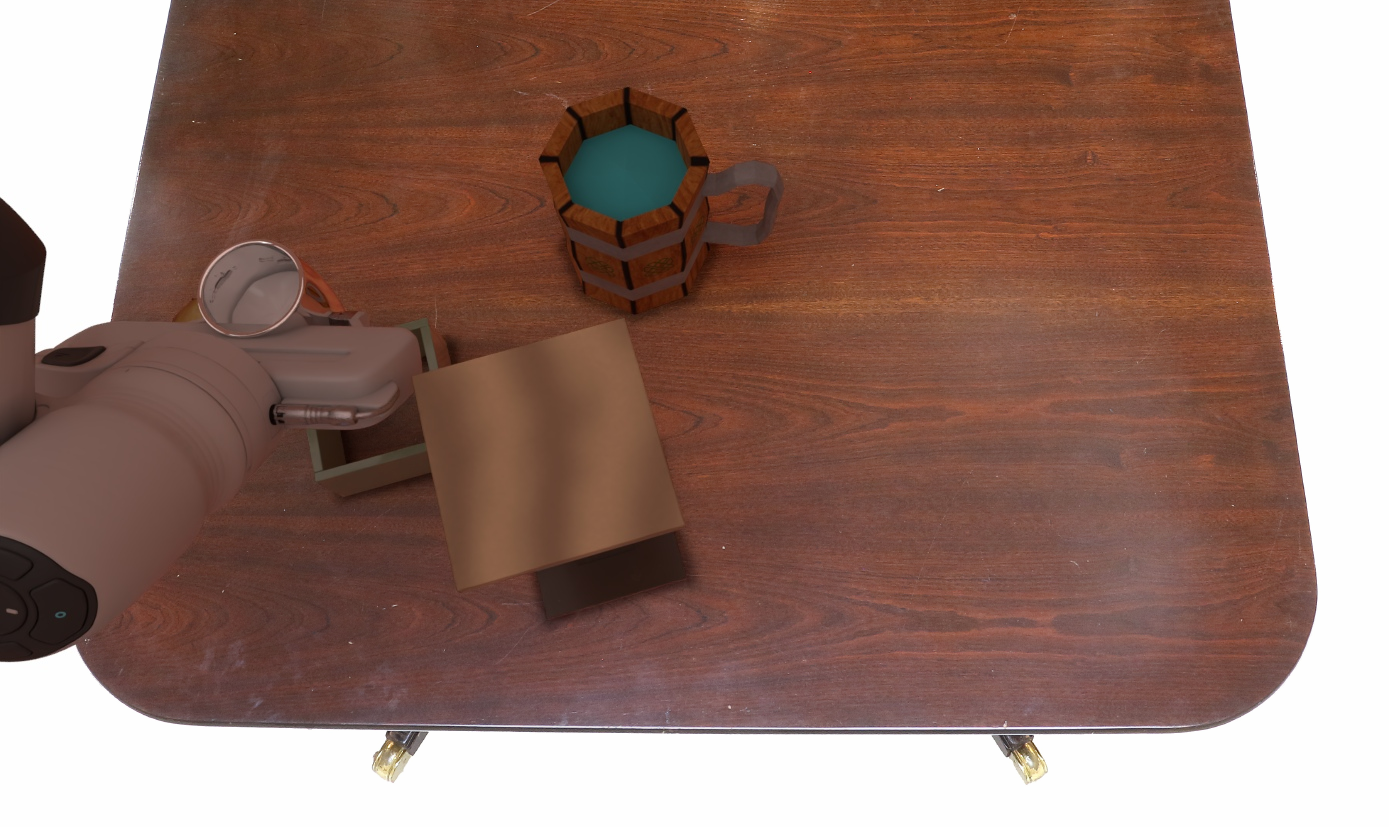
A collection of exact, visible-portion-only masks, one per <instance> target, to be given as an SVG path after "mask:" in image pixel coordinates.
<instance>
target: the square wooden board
mask: <svg viewBox="0 0 1389 827" xmlns="http://www.w3.org/2000/svg"><path fill="white" fill-rule="evenodd" d="M411 379H412V384H413V388H414V393H413V394H414V398H415V402H416V407H417V411H418V416H419V421H420V426H421V430H422V435H423V439H424V442H425V445H426V450H427V454H428V459H429V464H430V468H431V473H430V474H431V477H432V482H433V487H434V490H435V496H436V501H437V505H438V511H439V514H440V519H441V524H442V529H443V534H444V538H445V543H446V548H447V553H448V558H449V562H450V566H451V572H452V576H453V581H454V586H455V590H456V592H458V593H460V594H465V593H467V592H470V591H474V590H478V589H481V588H484V587H487V586H488V587H489V586H491V585H495V584H498V583H501V582H506V581H509V580H512V579H515V578H519V577H522V576H526V575H529V574H533V573H536V571H540V570H543V569H547V568H550V567H553V566H557V565H560V564H564V563H567V562H571V561H574V560H577V559H581V558H584V557H588V556H591V555H595V554H598V553H601V552H605V551H608V550H612V549H615V548H619V547H622V546H625V545H629V544H632V543H636V542H639V541H643V540H646V539H649V538H653V537H656V536H660V535H663V534H667V533H670V532H674V533H675V532H677V531H680V530H684V529H686V523H685V519H684V516H683V512H682V509H681V506H680V502H679V499H678V495H677V491H676V489H675V485H674V481H673V478H672V474H671V470H670V467H669V464H668V462H667V461H668V460H667V457H666V454H665V451H664V450H665V449H664V447H663V444H662V439H661V437H660V433H659V429H658V426H657V422H656V419H655V416H654V412H653V409H652V406H651V401H650V399H649V395H648V392H647V388H646V384H645V381H644V378H643V374H642V371H641V367H640V364H639V361H638V356H637V354H636V350H635V347H634V344H633V340H632V337H631V333H630V329H629V326H628V323H627V319H626V317H621V318H617V319H614V320H611V321H607V322H602V323H599V324H596V325H592V326H588V327H584V328H580V329H578V330H577V329H576V330H574V331H571V332H566V333H562V334H559V335H555V336H552V337H548V338H545V339H541V340H537V341H533V342H530V343H527V344H522V345H519V346H516V347H513V348H508V349H505V350H501V351H497V352H494V353H491V354H487V355H482V356H479V357H476V358H472V359H469V360H464V361H462V362H458V363H454V364H451V365H450V366H446V367H443V368H439V369H435V370H432V371H429V370H428V371H425V372H423V373H421V374H417V375H414V376H411Z"/></svg>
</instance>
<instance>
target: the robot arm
mask: <svg viewBox="0 0 1389 827" xmlns="http://www.w3.org/2000/svg"><path fill="white" fill-rule="evenodd" d="M47 256H48V255H47V248H46V245H45V244H44V242H43V241H42V239H41V238H40V237H39V236H38V234H37V233H36V232H35V231H34V230H33V228H32V227H31V226H30V225H29V223H27V221H26V220H25V219H24V218H23V217H22V216H21V215H20V214H19V213H18V212H17V211H16V210H15V209H14V208H13V206H11V205H10V204H9V203H8V202H7V201H6V200H4V199H3V198H2V197H1V196H0V663H20V662H21V663H22V662H29V661H35V660H39V659H43V658H47V657H49V656H52V655H53V656H54V655H55V654H56V655H57V654H58V653H60V652H63V651H66V650H67V649H69V648H72V647H73V646H76V645H78V644H80V643H81V642H84V641H85V640H87V639H89V638H91V637H93V636H95V635H96V634H97V633H99V632H100V631H102V630H103V629H105V628H106V627H108V626H109V625H110V624H112V623H113V622H114V621H115V620H117V619H118V618H119V617H120V616H122V615H123V614H124V613H125V612H127V610H129V609H130V608H131V607H132V606H133V605H135V604H136V603H137V602H138V601H139V600H140V599H141V598H142V597H143V596H144V595H145V594H146V593H147V592H149V590H151V588H152V587H153V586H154V585H155V584H156V583H158V582H159V580H160V579H161V578H162V577H163V576H164V575H165V574H166V573H167V572H168V571H170V569H171V568H172V567H173V566H174V565H175V563H176V562H177V561H178V560H179V559H180V558H181V557H182V556H183V554H185V553H186V551H187V550H188V549H189V548H190V547H191V546H192V544H193V543H194V542H195V540H196V539H197V538H198V536H199V534H200V532H201V530H202V529H203V526H204V523H205V520H206V517H208V516H210V515H212V514H213V513H216V512H217V511H219V510H220V509H222V508H223V507H224V506H225V505H227V504H228V503H229V502H231V500H232V499H233V498H234V497H235V496H236V495H237V494H238V493H239V492H240V490H241V489H242V488H243V487H244V486H245V485H246V483H247V482H248V481H249V480H250V479H251V478H252V477H253V476H254V474H255V473H257V471H258V470H259V469H260V468H261V467H262V465H264V463H265V462H266V461H267V459H268V458H269V457H270V456H271V455H272V454H273V453H274V451H276V449H277V447H279V444H280V443H281V440H282V438H283V434H284V430H285V429H295V430H298V429H299V430H306V429H331V430H340V431H349V430H360V429H365V428H366V429H367V428H370V427H372V426H374V425H377V424H379V423H381V422H383V421H384V420H385V419H387V418H389V417H390V416H391V415H392V414H393V413H395V411H396V410H398V409H399V408H400V407H401V406H402V405H403V404H404V403H405V402H407V400H409V398H410V397H411V396H412V395H413V394H415V393H414V388H413V384H412V379H411V376H414V375H417V374H421V373H424V372H423V361H422V360H423V359H422V357H421V353H420V348H419V343H418V340H417V338H416V336H415V335H414V334H413V333H412V332H411V331H410V330H408V329H406V328H401V327H393V326H371V322H370V321H371V320H370V316H369V312H368V311H366V310H345V311H344V312H343V314H342V315H340V317H339V318H338V326H318V325H306V326H301V327H298V328H295V329H293V330H289V331H286V332H283V333H279V334H275V335H270V336H264V337H257V338H233V337H228V336H225V335H222V334H220V333H219V332H217V331H216V330H214V329H213V328H212V327H211V326H210V325H209V324H208V323H207V322H206V321H205V320H204V318H200V319H197V320H193V321H189V322H172V321H147V320H145V321H144V320H143V321H142V320H111V321H107V322H102V323H97V324H93V325H90V326H89V327H87V328H84V329H83V330H81V331H79V332H77V333H75V334H73V335H71V336H70V337H68V338H66V339H65V340H63V341H62V342H60V343H58V344H56V345H55V346H54V347H51V348H44V349H42V350H40V351H37V352H36V322H37V321H36V320H37V319H36V317H38V316H39V314H40V310H41V302H42V294H43V286H44V278H45V269H46V263H47ZM216 324H217V325H219V326H220V327H222V328H224V329H226V330H229V331H233V332H240V333H247V332H254V331H258V330H261V329H264V328H266V327H268V326H270V325H272V324H234V323H216Z"/></svg>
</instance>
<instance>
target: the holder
mask: <svg viewBox="0 0 1389 827" xmlns="http://www.w3.org/2000/svg"><path fill="white" fill-rule="evenodd" d="M392 327H401V328H406V329H408V330H410V331H411V332H412V333H413V334H414V335H415V336H416V338H417V340H418V343H419V348H420V353H421V358H423V357H425V358H426V361H427V366H428V371H432V370H435V369H439V368H443V367H446V366H450V365H452V362H451V356H450V352H449V348H448V345H447V341H446V340H445V339H444V338H443V336H442V335H441V334H440V332H439V331H438V329H437V328H436V327H435V325H434V324H433V323H432V321H431V320H430V319H429V318H428V317H427V316H425V317H423V318H419V319H415V320H412V321H408V322H404V323H401V324H397V325H394V326H392ZM305 430H306V435H307V441H308V445H309V446H308V447H309V453H310V458H311V464H312V470H313V475H314V482H315V483H316V484H318V485H320V486H321V487H323V488H326V489H327V490H329V491H331V492H333V493H335V494H337V495H339V496H340V497H342V498H345V497H349V496H353V495H356V494H360V493H362V492H367V491H370V490H374V489H377V488H381V487H385V486H388V485H392V484H394V483H398V482H402V481H405V480H410V479H413V478H416V477H419V476H423V475H426V474H432V473H431V468H430V464H429V459H428V454H427V450H426V445H425V441H424V442H420V443H416V444H414V445H410V446H406V447H403V448H399V449H396V450H395V449H394V450H392V451H388V452H385V453H381V454H377V455H374V456H371V457H370V456H369V457H367V458H363V459H360V460H356V461H353V462H349V463H347V460H346V454H345V450H344V444H343V438H342V433H341V430H331V429H305Z"/></svg>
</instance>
